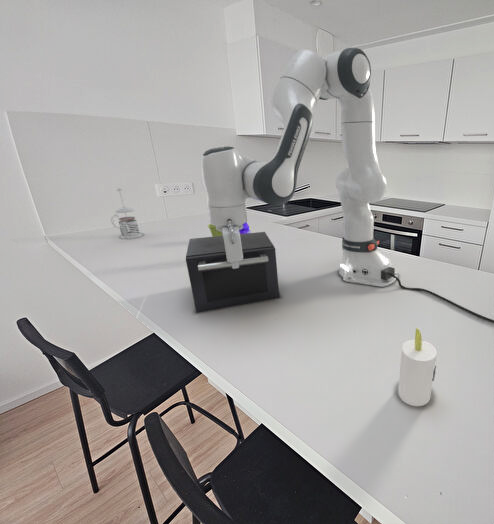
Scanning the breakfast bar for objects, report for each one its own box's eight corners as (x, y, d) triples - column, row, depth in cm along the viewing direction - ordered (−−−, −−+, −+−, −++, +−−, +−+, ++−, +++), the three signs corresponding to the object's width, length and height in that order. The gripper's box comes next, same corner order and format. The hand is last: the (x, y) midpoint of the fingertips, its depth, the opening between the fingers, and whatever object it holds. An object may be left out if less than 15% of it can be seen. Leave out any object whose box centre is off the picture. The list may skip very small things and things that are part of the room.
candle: (429, 410, 55) (439, 343, 49) (394, 400, 57) (400, 334, 51) (433, 387, 60) (442, 324, 55) (401, 378, 62) (407, 316, 57)
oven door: (281, 302, 92) (277, 252, 86) (195, 319, 83) (184, 263, 77) (278, 295, 96) (274, 246, 90) (196, 310, 87) (185, 256, 81)
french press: (146, 235, 160) (134, 188, 151) (121, 240, 151) (107, 190, 142) (137, 232, 165) (125, 186, 156) (112, 237, 155) (98, 188, 146)
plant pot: (211, 239, 154) (208, 223, 151) (230, 237, 157) (228, 221, 154) (209, 244, 146) (206, 227, 143) (229, 243, 149) (227, 226, 146)
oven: (278, 295, 97) (274, 246, 90) (196, 310, 87) (185, 256, 81) (268, 275, 112) (264, 231, 106) (198, 285, 103) (189, 238, 97)
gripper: (245, 223, 67) (252, 279, 72) (238, 207, 84) (244, 253, 89) (215, 226, 64) (224, 283, 69) (214, 209, 82) (221, 256, 87)
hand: (235, 266), depth 79 cm, fingers closed
